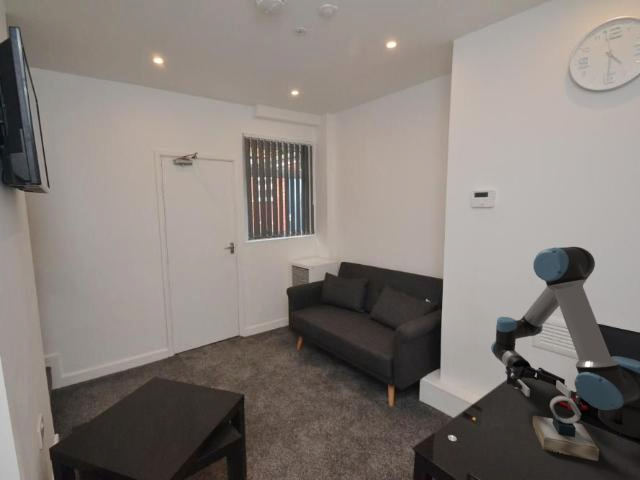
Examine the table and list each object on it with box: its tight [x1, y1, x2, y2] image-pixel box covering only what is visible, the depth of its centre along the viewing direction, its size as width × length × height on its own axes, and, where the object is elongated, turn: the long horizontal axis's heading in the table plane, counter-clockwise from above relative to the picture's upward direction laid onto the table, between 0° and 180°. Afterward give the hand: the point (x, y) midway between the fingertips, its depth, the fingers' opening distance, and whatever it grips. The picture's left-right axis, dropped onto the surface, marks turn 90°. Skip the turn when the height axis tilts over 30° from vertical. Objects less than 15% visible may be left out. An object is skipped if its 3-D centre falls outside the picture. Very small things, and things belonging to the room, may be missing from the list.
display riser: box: [532, 415, 600, 462], centre depth 104 cm, size 14×12×4 cm
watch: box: [549, 395, 582, 437], centre depth 104 cm, size 6×8×11 cm
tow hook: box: [555, 389, 589, 412], centre depth 124 cm, size 8×13×9 cm
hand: (549, 393), depth 111 cm, fingers open, 13 cm apart
